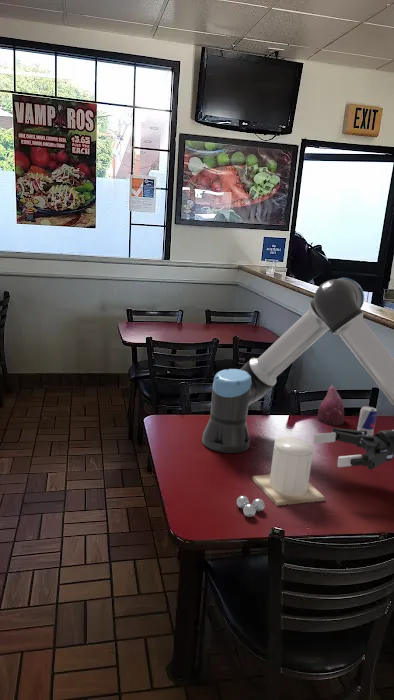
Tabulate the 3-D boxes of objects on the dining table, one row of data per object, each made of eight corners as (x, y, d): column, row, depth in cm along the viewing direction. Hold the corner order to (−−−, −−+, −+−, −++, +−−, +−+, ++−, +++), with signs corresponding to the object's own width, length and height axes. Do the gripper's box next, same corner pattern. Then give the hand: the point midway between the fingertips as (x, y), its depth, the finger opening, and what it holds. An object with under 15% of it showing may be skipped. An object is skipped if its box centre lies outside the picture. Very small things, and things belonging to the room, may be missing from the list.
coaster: (252, 479, 138) (252, 476, 138) (296, 475, 143) (296, 472, 143) (276, 505, 125) (277, 502, 125) (324, 500, 130) (324, 497, 130)
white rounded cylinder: (262, 478, 137) (268, 438, 134) (294, 476, 140) (300, 436, 138) (280, 497, 128) (286, 453, 125) (314, 493, 131) (320, 451, 128)
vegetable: (313, 423, 196) (310, 385, 196) (339, 421, 197) (336, 383, 197) (322, 426, 186) (319, 386, 186) (349, 424, 187) (346, 384, 187)
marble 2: (240, 513, 120) (241, 502, 120) (251, 512, 121) (253, 500, 121) (245, 520, 118) (247, 508, 117) (257, 518, 119) (258, 507, 118)
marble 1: (234, 505, 124) (235, 494, 123) (245, 503, 125) (246, 492, 124) (239, 511, 121) (240, 500, 120) (250, 510, 122) (251, 499, 121)
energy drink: (372, 445, 170) (378, 412, 168) (356, 443, 171) (362, 409, 169) (370, 439, 176) (376, 407, 173) (354, 437, 176) (360, 405, 174)
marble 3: (249, 507, 123) (250, 496, 123) (260, 506, 124) (261, 495, 124) (254, 514, 121) (256, 503, 120) (265, 513, 122) (267, 501, 121)
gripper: (420, 477, 131) (348, 486, 126) (367, 436, 155) (304, 441, 149) (425, 451, 129) (351, 459, 124) (370, 413, 152) (306, 418, 147)
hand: (325, 449), depth 137 cm, fingers open, 13 cm apart
